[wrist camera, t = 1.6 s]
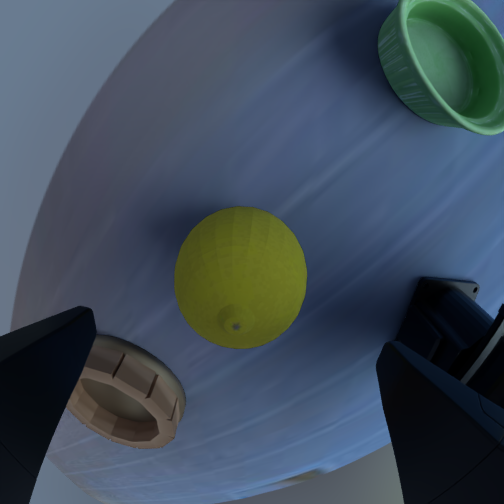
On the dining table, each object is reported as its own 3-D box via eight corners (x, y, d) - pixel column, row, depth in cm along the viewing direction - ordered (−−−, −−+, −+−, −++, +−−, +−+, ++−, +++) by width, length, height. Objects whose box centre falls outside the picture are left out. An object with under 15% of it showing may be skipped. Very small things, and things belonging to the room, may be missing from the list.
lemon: (267, 300, 17) (274, 402, 10) (182, 264, 16) (133, 351, 9) (311, 220, 15) (359, 287, 8) (218, 177, 15) (180, 206, 7)
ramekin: (347, 3, 11) (372, -31, 7) (455, 17, 10) (490, 1, 6) (388, 138, 14) (430, 137, 10) (487, 132, 13) (530, 136, 9)
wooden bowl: (183, 350, 19) (173, 384, 16) (188, 432, 23) (182, 460, 19) (56, 321, 18) (34, 345, 15) (86, 406, 22) (74, 429, 19)
